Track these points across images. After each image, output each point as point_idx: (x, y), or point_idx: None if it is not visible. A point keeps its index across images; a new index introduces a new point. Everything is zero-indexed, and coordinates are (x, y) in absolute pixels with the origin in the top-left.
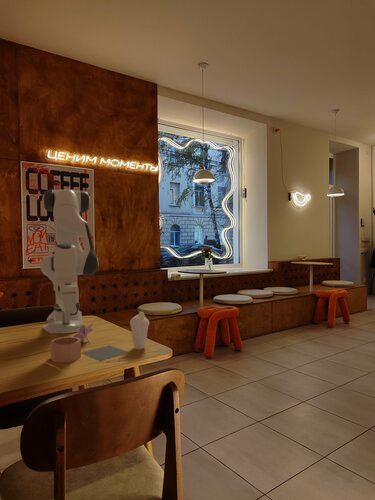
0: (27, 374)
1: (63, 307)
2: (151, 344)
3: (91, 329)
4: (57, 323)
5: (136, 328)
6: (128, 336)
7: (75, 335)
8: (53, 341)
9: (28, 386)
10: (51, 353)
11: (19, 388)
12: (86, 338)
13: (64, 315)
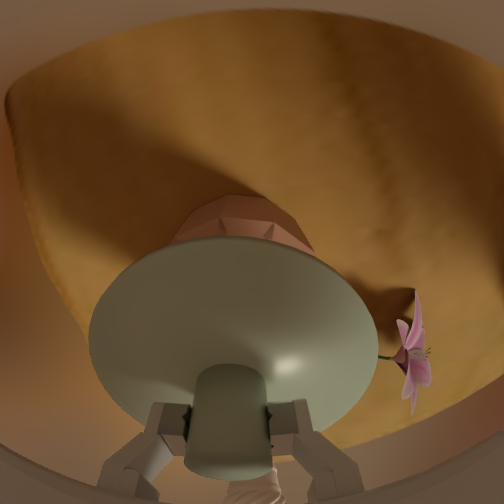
0: (95, 109)
1: (15, 493)
2: (274, 458)
3: (428, 383)
4: (297, 333)
5: (231, 491)
6: (377, 428)
7: (401, 335)
8: (249, 235)
9: (14, 138)
10: (216, 205)
11: (11, 116)
12: (389, 357)
13: (131, 450)
